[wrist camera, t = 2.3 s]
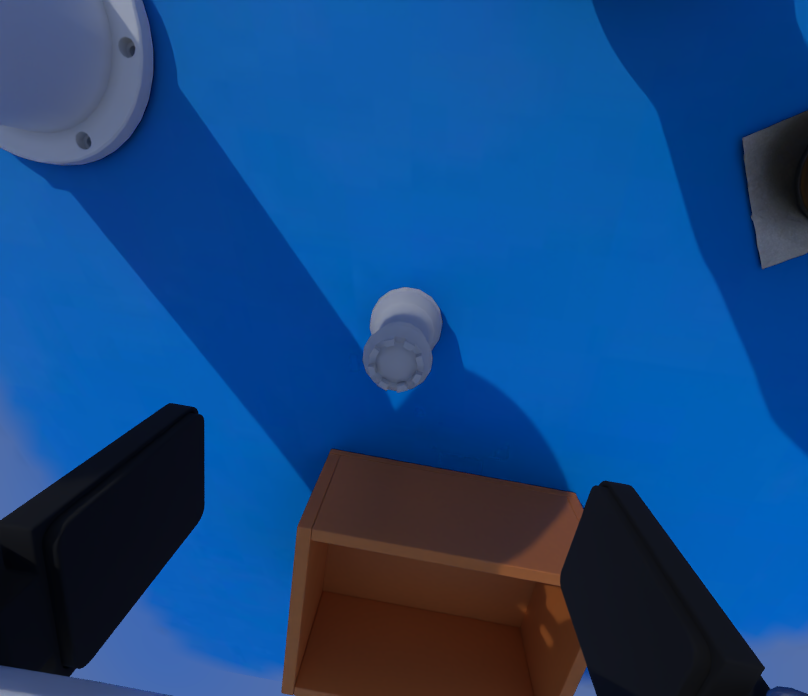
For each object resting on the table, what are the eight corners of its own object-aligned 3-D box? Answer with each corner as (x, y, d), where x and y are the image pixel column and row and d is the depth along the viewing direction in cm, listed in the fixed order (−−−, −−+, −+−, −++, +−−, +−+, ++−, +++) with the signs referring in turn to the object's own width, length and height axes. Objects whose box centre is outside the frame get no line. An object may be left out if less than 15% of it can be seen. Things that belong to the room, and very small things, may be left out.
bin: (314, 589, 33) (281, 693, 26) (331, 448, 29) (297, 526, 21) (525, 628, 33) (551, 745, 26) (575, 492, 28) (623, 586, 21)
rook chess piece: (409, 367, 26) (399, 429, 19) (357, 322, 26) (325, 367, 18) (457, 319, 25) (467, 364, 17) (404, 270, 24) (391, 295, 17)
